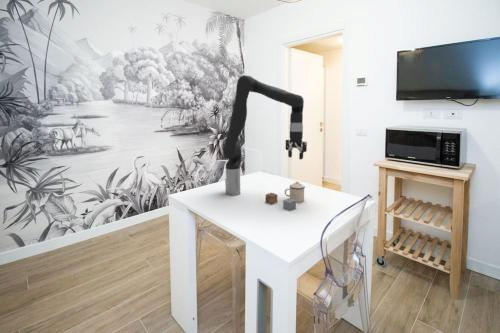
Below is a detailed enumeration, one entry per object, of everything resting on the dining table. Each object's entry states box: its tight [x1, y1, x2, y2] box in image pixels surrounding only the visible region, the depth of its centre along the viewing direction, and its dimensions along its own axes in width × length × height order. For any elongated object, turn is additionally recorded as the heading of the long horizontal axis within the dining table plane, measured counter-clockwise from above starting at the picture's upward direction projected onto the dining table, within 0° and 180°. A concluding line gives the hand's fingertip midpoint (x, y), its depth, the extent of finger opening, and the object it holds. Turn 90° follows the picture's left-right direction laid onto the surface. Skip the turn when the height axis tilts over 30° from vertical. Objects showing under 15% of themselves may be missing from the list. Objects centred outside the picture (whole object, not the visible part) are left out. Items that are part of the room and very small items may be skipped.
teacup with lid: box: [284, 180, 305, 203], centre depth 165 cm, size 12×9×12 cm
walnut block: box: [265, 192, 278, 205], centre depth 162 cm, size 5×5×5 cm
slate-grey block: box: [282, 197, 297, 212], centre depth 152 cm, size 5×5×5 cm
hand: (295, 158), depth 161 cm, fingers open, 7 cm apart
